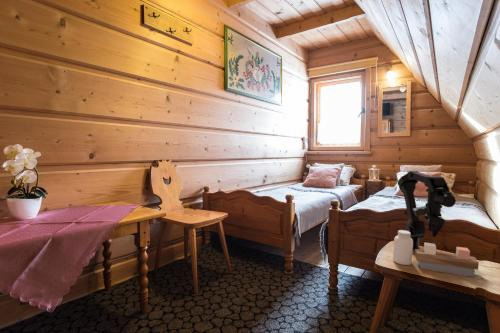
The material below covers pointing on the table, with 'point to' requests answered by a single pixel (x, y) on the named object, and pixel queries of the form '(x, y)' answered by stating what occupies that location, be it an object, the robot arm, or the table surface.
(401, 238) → the pill bottle
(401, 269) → the table surface
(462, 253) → the block
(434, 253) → the block
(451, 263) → the tan long bar
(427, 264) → the block
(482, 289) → the table surface
